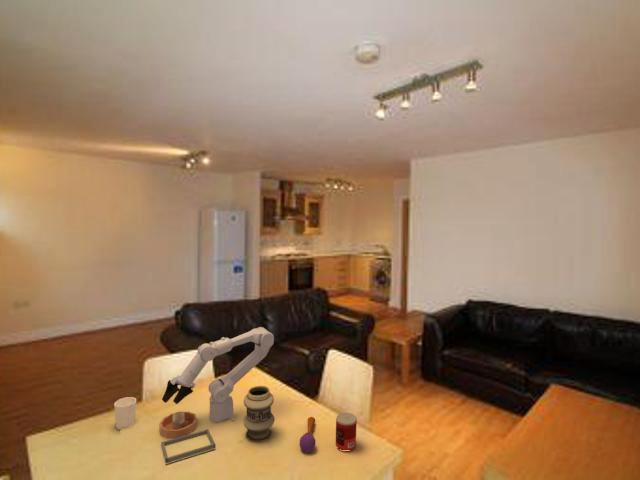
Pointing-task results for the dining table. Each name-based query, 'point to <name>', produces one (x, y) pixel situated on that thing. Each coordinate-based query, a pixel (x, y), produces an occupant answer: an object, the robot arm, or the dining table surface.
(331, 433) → the dining table surface
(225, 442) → the dining table surface
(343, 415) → the canned food
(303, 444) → the purple maraca
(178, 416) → the taupe rounded cylinder
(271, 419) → the apothecary jar
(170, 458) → the charcoal tray
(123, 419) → the white cup
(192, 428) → the orange shallow faceted dish
